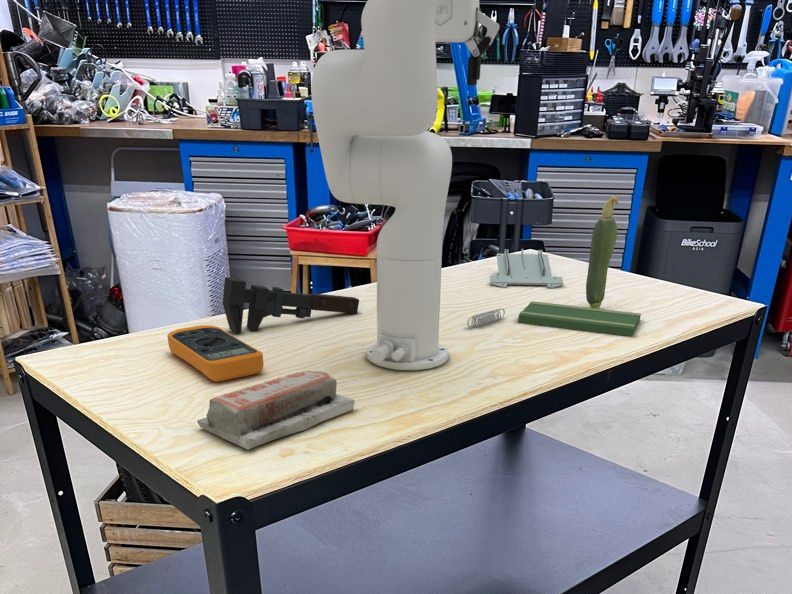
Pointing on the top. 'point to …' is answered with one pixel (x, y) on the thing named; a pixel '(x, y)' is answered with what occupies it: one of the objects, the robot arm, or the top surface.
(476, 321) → the spring
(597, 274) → the vegetable
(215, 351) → the multimeter
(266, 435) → the packaged product
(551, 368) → the top surface
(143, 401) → the top surface
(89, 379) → the top surface
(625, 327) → the green rectangular slab
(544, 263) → the metal bracket
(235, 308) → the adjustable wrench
